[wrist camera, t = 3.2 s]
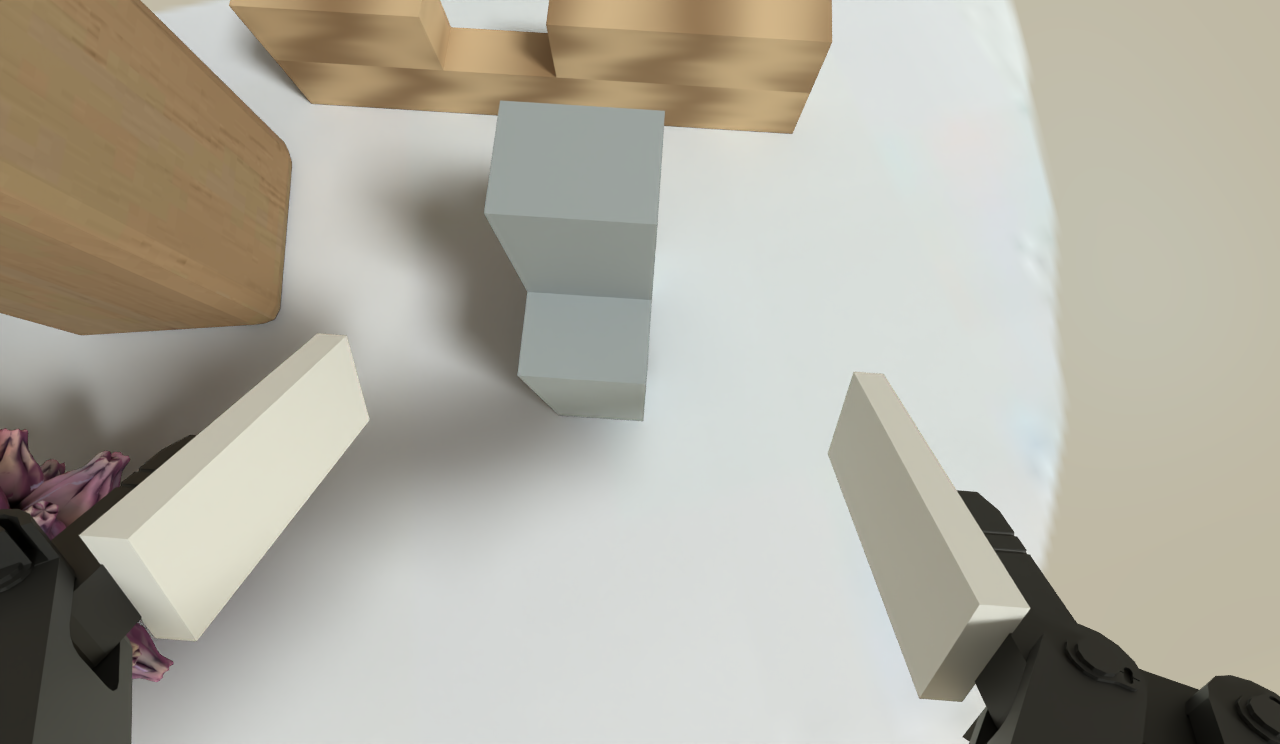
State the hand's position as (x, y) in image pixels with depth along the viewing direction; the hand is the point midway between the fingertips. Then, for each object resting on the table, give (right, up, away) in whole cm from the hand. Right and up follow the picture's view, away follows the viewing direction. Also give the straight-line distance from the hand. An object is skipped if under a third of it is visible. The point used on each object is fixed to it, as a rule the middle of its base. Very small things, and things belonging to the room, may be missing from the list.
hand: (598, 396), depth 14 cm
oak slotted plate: (-4, +16, +15) cm, 22 cm away
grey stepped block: (0, +3, +12) cm, 12 cm away
